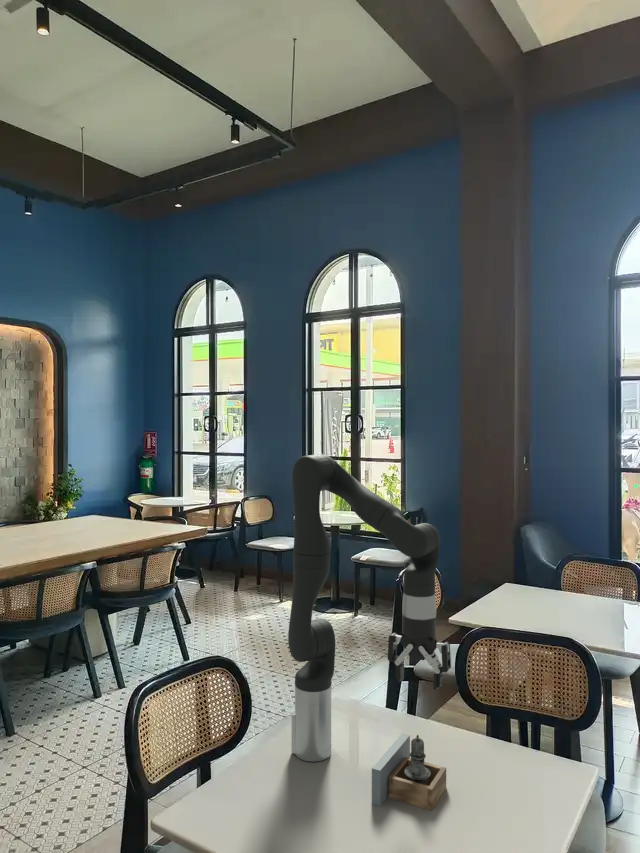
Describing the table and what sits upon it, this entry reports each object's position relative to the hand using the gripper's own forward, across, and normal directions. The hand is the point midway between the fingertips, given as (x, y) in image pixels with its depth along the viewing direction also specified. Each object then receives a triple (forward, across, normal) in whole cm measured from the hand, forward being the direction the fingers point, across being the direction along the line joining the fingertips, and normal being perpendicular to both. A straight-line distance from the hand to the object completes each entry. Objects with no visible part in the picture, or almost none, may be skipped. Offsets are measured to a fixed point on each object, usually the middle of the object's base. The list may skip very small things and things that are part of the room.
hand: (418, 684), depth 145 cm
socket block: (+24, 0, -1) cm, 24 cm away
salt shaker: (+23, 0, -1) cm, 23 cm away
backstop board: (+24, -6, -1) cm, 25 cm away
